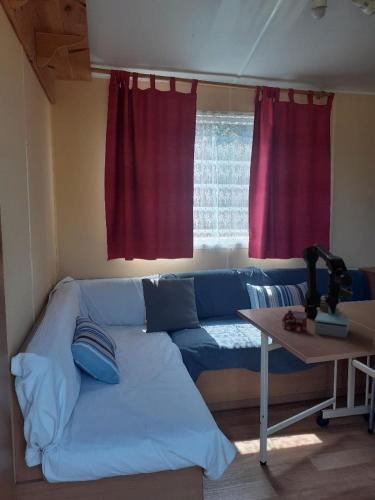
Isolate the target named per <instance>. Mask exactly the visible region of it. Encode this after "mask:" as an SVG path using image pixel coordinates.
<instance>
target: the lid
mask: <svg viewBox="0 0 375 500" xmlns="http://www.w3.org/2000/svg"><path fill="white" fill-rule="evenodd" d="M316 321H318V322H324V323H332V324H340V325H347V324H348V321H350V316H349V315H340V308H339V307H336V310H335V314H332V312H331V310H330V307H329V308H328V312H327V313H326V312H324V313H322V312H318V315H317V317H316V318H315V319H314V322H316Z"/></svg>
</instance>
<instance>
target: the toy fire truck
mask: <svg viewBox="0 0 375 500" xmlns="http://www.w3.org/2000/svg"><path fill="white" fill-rule="evenodd" d="M307 317H308V314H307V313H306V312H305V311H296V310H294V311H293V310H291V309H289V310H288V311H287V312H286V313H285V314H284V316H283V318H282V321H281V322H282V323H281V324H282V325H281V326H282V327H284V330H286V331H290V332H291V331H293V329H294V332H296V333H303V331H305V330H307V327H308V326H307V322H308V321H307V319H308V318H307Z"/></svg>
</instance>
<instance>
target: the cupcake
mask: <svg viewBox="0 0 375 500" xmlns="http://www.w3.org/2000/svg"><path fill="white" fill-rule="evenodd" d="M327 296H329V295H328V293H326V294H322V295H321V304H320V308H319V311H321V312H324V313H328V308H329V305H328V303H326V302H325V298H326V297H327Z"/></svg>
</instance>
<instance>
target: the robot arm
mask: <svg viewBox="0 0 375 500" xmlns="http://www.w3.org/2000/svg"><path fill="white" fill-rule="evenodd" d="M319 257H320V258H321V260H323V261H324V262H325V267H327V269H328V270H327V271H326V273H327V274H328V284H327V289H328V290H327V294H328V295H329V296H327V297H326V298H325V302H326V303H328V305H329V307H330V310H331V312H332V314H335V310H336V308H338V305H339V304H340V303H341V301H342V298H346V299H347V300H351V299H352V297H353V295H354V291H352V288H351V287H349V286H352V283H353V278H352V276H351V275H349V274H350V273H349V272H348V267H347V266H346V263H345V261H344V259H343V258H342V257H341V256H338V255H334V254H333V253H331V252H330V251H329V249H327V248H325V246H324V245H323V244H320V243H319V244H313V245H311V246H309V247H305V248H304V249H303V251H302V258H303V261H304V262H305V264H306V275H307V276H306V279H307V281H306V282H307V289H306V292H305V294H304V298H303V300H302V302H301V307H302V308H304V312H306V313H307V314H308V317H307V319H309V320H315V318H316V317H317V315H318V313H319V310H318V309H320V304H321V298H322V294H321V292H319V291H318V288H317V287H318V286H317V285H318V283H317V280H318V279H317V262H318V260H319ZM343 287H345V288H343Z"/></svg>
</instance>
